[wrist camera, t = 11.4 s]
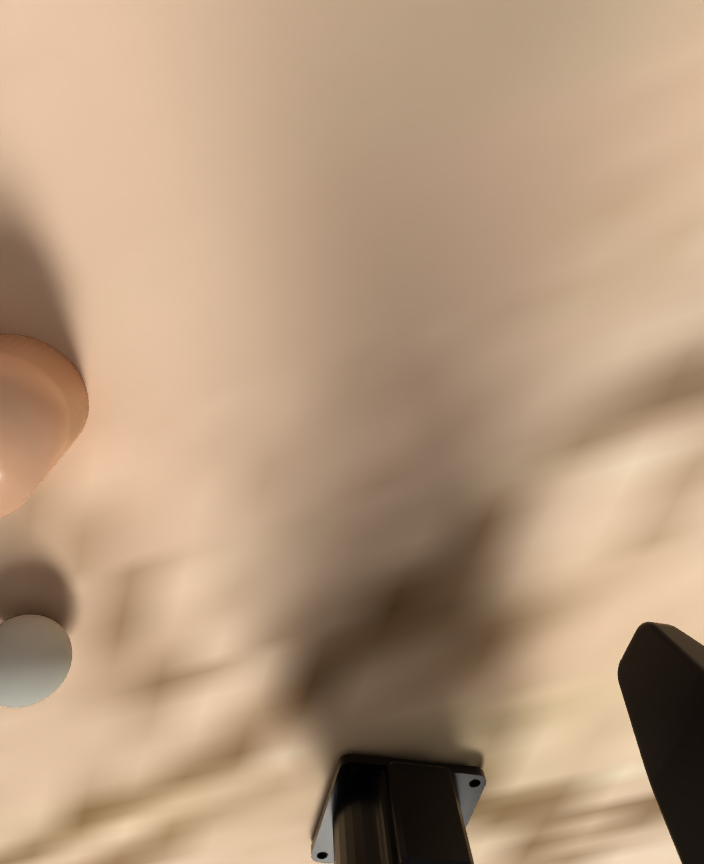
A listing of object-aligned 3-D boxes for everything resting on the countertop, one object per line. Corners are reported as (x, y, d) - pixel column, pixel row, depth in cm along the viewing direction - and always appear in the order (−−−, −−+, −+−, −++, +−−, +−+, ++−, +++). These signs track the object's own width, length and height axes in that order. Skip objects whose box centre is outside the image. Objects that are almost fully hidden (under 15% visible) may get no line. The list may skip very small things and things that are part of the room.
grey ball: (80, 666, 24) (51, 732, 21) (-4, 655, 23) (-45, 722, 20) (86, 603, 23) (57, 664, 20) (-2, 590, 22) (-45, 652, 19)
